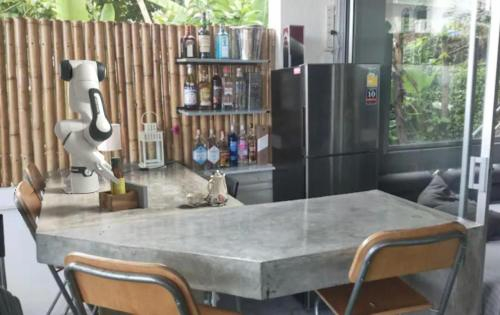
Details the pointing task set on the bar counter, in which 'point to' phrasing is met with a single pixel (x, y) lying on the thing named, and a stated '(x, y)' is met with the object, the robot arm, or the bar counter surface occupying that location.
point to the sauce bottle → (118, 173)
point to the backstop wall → (139, 193)
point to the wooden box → (118, 200)
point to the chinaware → (211, 192)
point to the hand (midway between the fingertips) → (118, 181)
